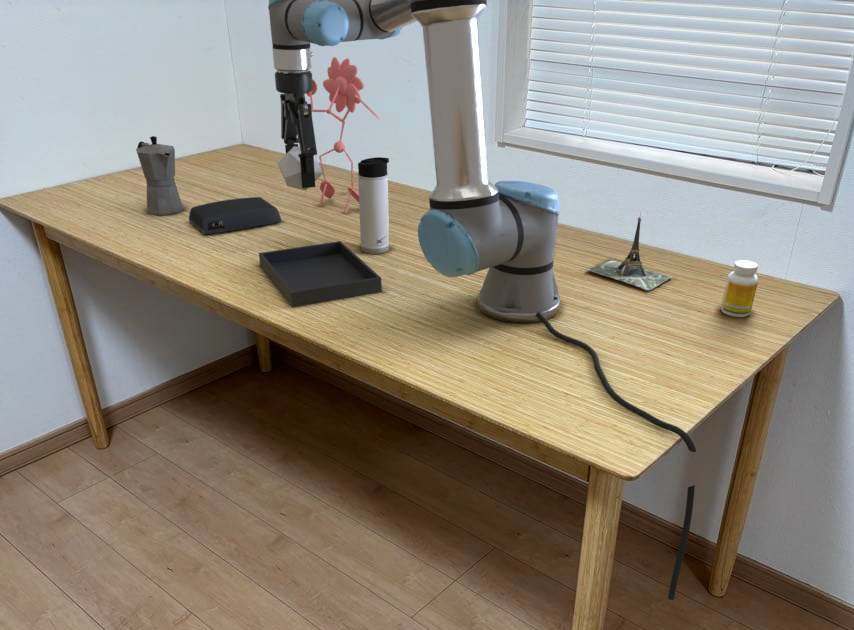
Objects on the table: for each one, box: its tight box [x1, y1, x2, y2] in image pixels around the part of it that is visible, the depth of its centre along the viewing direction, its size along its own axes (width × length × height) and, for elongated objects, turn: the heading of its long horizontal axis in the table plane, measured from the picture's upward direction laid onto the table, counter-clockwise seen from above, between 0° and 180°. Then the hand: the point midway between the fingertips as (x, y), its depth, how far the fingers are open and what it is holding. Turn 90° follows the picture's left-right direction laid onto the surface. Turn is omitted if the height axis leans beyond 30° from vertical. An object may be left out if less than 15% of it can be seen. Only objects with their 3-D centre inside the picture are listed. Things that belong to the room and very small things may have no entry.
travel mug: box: [357, 156, 390, 255], centre depth 173 cm, size 6×7×20 cm
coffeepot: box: [135, 135, 184, 216], centre depth 197 cm, size 15×9×18 cm, turn 44°
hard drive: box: [188, 196, 283, 235], centre depth 192 cm, size 13×19×4 cm
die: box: [276, 146, 323, 191], centre depth 172 cm, size 8×9×10 cm
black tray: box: [258, 240, 383, 308], centre depth 162 cm, size 23×18×3 cm
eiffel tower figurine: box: [587, 211, 674, 292], centre depth 162 cm, size 15×10×13 cm
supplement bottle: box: [720, 259, 759, 318], centre depth 148 cm, size 5×5×10 cm
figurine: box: [305, 56, 380, 219], centre depth 198 cm, size 15×26×35 cm, turn 50°
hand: (301, 180), depth 173 cm, fingers closed on die, 10 cm apart
